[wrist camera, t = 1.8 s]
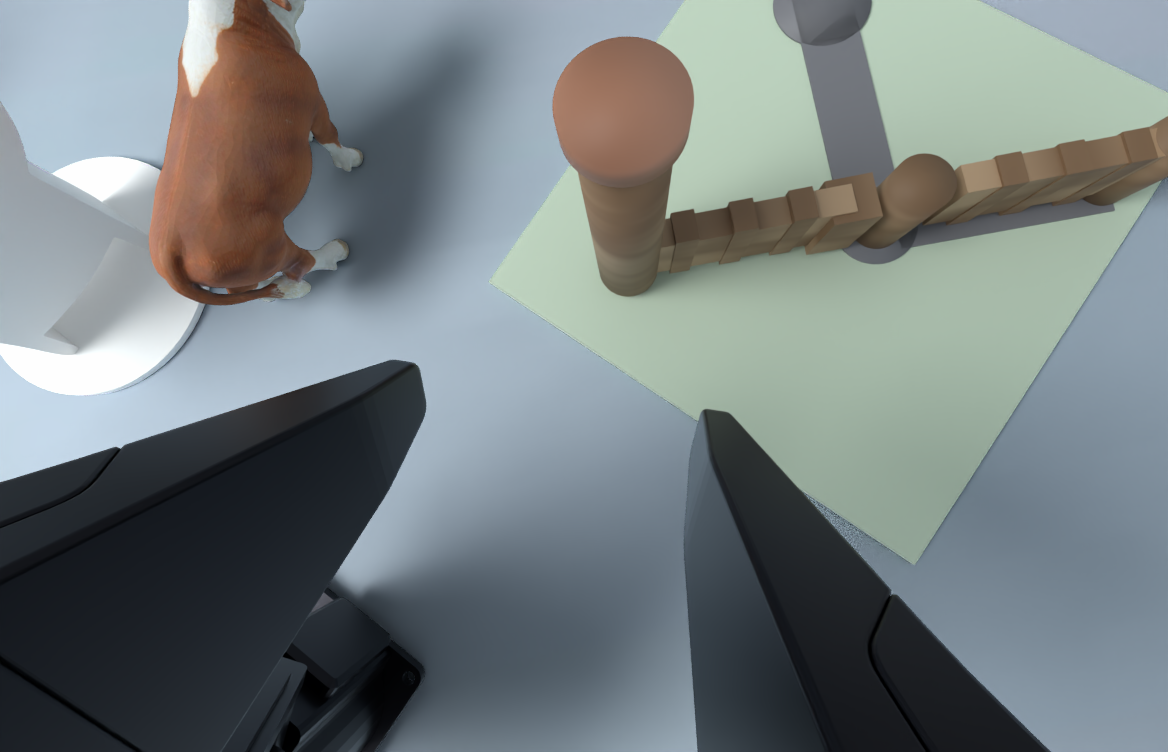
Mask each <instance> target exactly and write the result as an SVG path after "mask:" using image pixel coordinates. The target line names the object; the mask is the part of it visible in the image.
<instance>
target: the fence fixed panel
mask: <svg viewBox="0 0 1168 752" xmlns="http://www.w3.org/2000/svg"><path fill="white" fill-rule="evenodd" d="M1167 177H1168V116H1167V117H1165V118H1164V119H1162V120H1160V121H1159V122H1157V123H1155V124H1154V125H1152V126H1150V127H1145V128H1140V129H1135V130H1129V131H1124V132H1122V133H1120V134H1118V135H1117V136H1112V137H1106V138H1101V139H1096V140H1091V141H1085V139H1082V140H1077V141H1071V142H1066V143H1061V144H1058V145H1057V146H1055V147H1054V148H1049V149H1043V150H1038V151H1033V152H1027V153H1022V152H1021V151H1019V152H1014V153H1008V154H1003V155H998V156H995V157H994V158H993V159H991V160H985V161H980V162H975V163H969V164H964V165H960V166H959V167H958V168H957V169H956V170H954V169H953V168H952V166H951V165H950V164H949V163H948V162H947V161H946V160H944V159H943V158H941V157H939V156H937V155H933V154H927V153H922V154H916V155H913V156H910V157H908V158H907V159H905V160H904V161H903V162H902V163H901V164H900V165H899V166H898V167H897V168H896V169H895V170H894V171H893V172H892V173H891V174H890V175H889V176H888V177H887V178H886V179H885V180H884V181H883V182H882V183H881V184H880V185H879V186H878V187H877V188H876V189H877V193H878V197H879V201H880V206H881V210H882V214H883V217H882V218H881V219H879V220H878V221H877V222H876V223H875V224H874V225H873V226H871V227H870V228H869V229H868V230H867V231H866V232H865V233H863V234H862V235H861V236H860V237H859V238H858V239H857V240H856V241H857V242H858V243H860V244H861V245H863V246H865V247H867V248H871V249H882V248H885V247H888V246H890V245H891V244H893V243H894V242H896V241H897V240H898V239H900V238H901V237H902V236H904V235H905V234H906V233H908V232H909V231H910V230H912V229H913V228H915V227H916V226H917V225H919V224H920V223H921V222H922V224H923V226H924V225H929V224H935V223H940V222H946V226H947V225H952V224H958V223H963V222H968V221H969V220H971V219H972V218H974V217H976V216H978V215H984V214H989V213H995V212H998V214H999V216H1002V215H1007V214H1013V213H1018V212H1022V211H1023V210H1025V209H1027V208H1028V207H1030V206H1033V205H1039V204H1044V203H1050V202H1052V206H1057V205H1062V204H1068V203H1073V202H1076V201H1078V200H1080V199H1082V198H1083V199H1084V200H1085V201H1087V202H1088V203H1090V204H1093V205H1098V206H1106V205H1110V204H1113V203H1115V202H1117V201H1119V200H1121V199H1123V198H1125V197H1128V196H1130V195H1132V194H1134V193H1136V192H1138V191H1140V190H1142V189H1144V188H1146V187H1148V186H1150V185H1152V184H1154V183H1156V182H1159V181H1161V180H1163V179H1165V178H1167Z"/></svg>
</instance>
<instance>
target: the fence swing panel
mask: <svg viewBox="0 0 1168 752" xmlns="http://www.w3.org/2000/svg"><path fill="white" fill-rule="evenodd" d="M693 108H694V91H693V85H692V82H691V78H690V76H689V74H688V71H687V70H686V68H685V67H684V65H683V63H682V62H681V61H680V60H679V59H678V57H677V56H675V55H674V54H673V53H672V52H671V51H670V50H668V49H667V48H665V47H664V46H662V45H660V44H658V43H656V42H653V41H650V40H648V39H643V38H638V37H617V38H611V39H607V40H604V41H601V42H598V43H596V44H593V45H592V46H590V47H588V48H586V49H585V50H583V51H582V52H581V53H579V54H578V55H577V56H576V57H575V58H574V59H573V60H572V61H571V62H570V63H569V64H568V65H567V66H566V68H565V69H564V71H563V72H562V74H561V76H560V78H559V80H558V82H557V85H556V88H555V91H554V96H553V117H554V122H555V126H556V130H557V134H558V138H559V141H560V145H561V148H562V151H563V153H564V155H565V157H566V159H567V160H568V162H569V163H570V164H571V166H572V167H573V168H574V169H575V170H576V171H577V172H578V176H579V181H580V185H581V190H582V195H583V199H584V204H585V208H586V213H587V218H588V222H589V227H590V232H591V236H592V241H593V245H594V250H595V255H596V259H597V264H598V269H599V273H600V277H601V280H602V282H603V284H604V285H605V286H606V287H607V288H608V289H609V290H610V291H611V292H613V293H615V294H617V295H620V296H625V297H630V296H636V295H639V294H641V293H643V292H645V291H646V290H648V289H649V288H650V287H651V285H652V284H653V283H654V281H655V279H656V276H657V273H658V272H663V271H669V273H670V274H671V273H676V272H682V271H687V270H690V267H691V266H696V265H701V264H707V263H712V262H718V261H719V265H720V264H726V263H731V262H737V261H740V259H741V257H745V256H751V255H756V254H762V253H767V252H769V256H770V255H775V254H781V253H786V252H790V251H791V250H792V249H793V248H795V247H800V246H804V247H805V252H806V255H809V254H815V253H821V252H826V251H832V250H837V249H843V248H848V247H849V246H850V245H851V244H852V243H853V242H854V241H855V240H857V239H858V238H859V237H860V236H861V235H862V234H863V233H865V232H866V231H867V230H868V229H869V228H870V227H871V226H873V225H874V224H875V223H876V222H877V221H878V220H879V219H881V218H882V217H883V214H882V210H881V206H880V201H879V197H878V193H877V189H876V185H875V181H874V177H873V172H871V173H866V174H860V175H855V176H850V177H845V178H839V179H834V180H829V181H825V182H824V183H823V184H822V186H821V187H820V188H819V190H815V191H814V190H813V186H810V187H805V188H799V189H794V190H789V191H788V192H787V194H786V195H785V196H784V197H778V198H773V199H768V200H762V201H757V202H754V201H753V197H752V198H747V199H742V200H737V201H731V202H729V203H728V206H727V207H726V208H720V209H715V210H710V211H705V212H699V213H695V212H694V209H689V210H684V211H679V212H674V213H671V214H670V218H668V219H665V217H666V210H667V203H668V196H669V189H670V182H671V175H672V168H673V164H674V163H675V162H676V161H677V159H678V158H679V156H680V155H681V153H682V152H683V150H684V147H685V145H686V143H687V139H688V136H689V131H690V125H691V120H692V114H693Z"/></svg>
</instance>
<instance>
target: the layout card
mask: <svg viewBox="0 0 1168 752" xmlns="http://www.w3.org/2000/svg"><path fill="white" fill-rule="evenodd" d="M656 43H658V44H660V45H662V46H664V47H665V48H667V49H668V50H670V51H671V52H672V53H673V54H674V55H675V56H677V57H678V59H679V60H680V61H681V62H682V63H683V65H684V67H685V68H686V70H687V71H688V74H689V76H690V78H691V82H692V85H693V91H694V108H693V114H692V120H691V125H690V131H689V136H688V139H687V143H686V145H685V147H684V150H683V152H682V153H681V155H680V156H679V158H678V159H677V161H676V162H675V163H674V164H673V168H672V175H671V182H670V189H669V196H668V203H667V210H666V217H665V219H668V218H670V214H671V213H674V212H679V211H684V210H689V209H694V212H695V213H699V212H705V211H710V210H715V209H720V208H726V207H727V206H728V203H729V202H731V201H737V200H742V199H747V198H752V197H753V201H754V202H757V201H762V200H768V199H773V198H778V197H784V196H785V195H786V194H787V192H788V191H789V190H794V189H799V188H805V187H810V186H813V190H814V191H815V190H819V188H820V187H821V186H822V184H823V183H824V182H825V181H829V180H834V179H839V178H845V177H850V176H855V175H860V174H866V173H871V172H873V177H874V181H875V185H876V188H877V187H878V186H879V185H880V184H881V183H882V182H883V181H884V180H885V179H886V178H887V177H888V176H889V175H890V174H891V173H892V172H893V171H894V170H895V169H896V168H897V167H898V166H899V165H900V164H901V163H902V162H903V161H904V160H905V159H907V158H908V157H910V156H913V155H916V154H922V153H927V154H933V155H937V156H939V157H941V158H943V159H944V160H946V161H947V162H948V163H949V164H950V165H951V166H952V168H953V169H954V170H956V169H957V168H958V167H959V166H960V165H964V164H969V163H975V162H980V161H985V160H991V159H993V158H994V157H995V156H998V155H1003V154H1008V153H1014V152H1019V151H1021V152H1022V153H1027V152H1033V151H1038V150H1043V149H1049V148H1054V147H1055V146H1057V145H1058V144H1061V143H1066V142H1071V141H1077V140H1082V139H1085V141H1091V140H1096V139H1101V138H1106V137H1112V136H1117V135H1118V134H1120V133H1122V132H1124V131H1129V130H1135V129H1140V128H1145V127H1150V126H1152V125H1154V124H1155V123H1157V122H1159V121H1160V120H1162V119H1164V118H1165V117H1167V116H1168V92H1166V91H1163V90H1161V89H1159V88H1157V87H1155V86H1153V85H1151V84H1149V83H1147V82H1145V81H1143V80H1141V79H1139V78H1137V77H1135V76H1133V75H1131V74H1129V73H1127V72H1125V71H1122V70H1120V69H1118V68H1116V67H1114V66H1112V65H1110V64H1108V63H1106V62H1104V61H1102V60H1100V59H1098V58H1096V57H1094V56H1092V55H1090V54H1088V53H1086V52H1084V51H1082V50H1079V49H1077V48H1075V47H1073V46H1071V45H1069V44H1067V43H1065V42H1063V41H1061V40H1059V39H1057V38H1055V37H1053V36H1051V35H1049V34H1047V33H1045V32H1043V31H1041V30H1039V29H1036V28H1034V27H1032V26H1030V25H1028V24H1026V23H1024V22H1022V21H1020V20H1018V19H1016V18H1014V17H1012V16H1010V15H1008V14H1006V13H1004V12H1002V11H1000V10H998V9H995V8H993V7H991V6H989V5H987V4H985V3H983V2H981V1H979V0H685V1H684V2H683V4H682V5H681V6H680V8H679V9H678V11H677V12H676V14H675V15H674V16H673V18H672V19H671V21H670V22H669V24H668V25H667V26H666V28H665V29H664V31H663V32H662V34H661V35H660V37H659V38H658V39H657V41H656ZM1161 181H1162V180H1161ZM1161 181H1159V182H1156V183H1154V184H1152V185H1150V186H1148V187H1146V188H1144V189H1142V190H1140V191H1138V192H1136V193H1134V194H1132V195H1130V196H1128V197H1125V198H1123V199H1121V200H1119V201H1117V202H1115V203H1113V204H1110V205H1106V206H1098V205H1093V204H1090V203H1088V202H1087V201H1085V200H1084V199H1083V198H1082V199H1080V200H1078V201H1076V202H1073V203H1068V204H1062V205H1057V206H1052V202H1050V203H1044V204H1039V205H1033V206H1030V207H1028V208H1027V209H1025V210H1023V211H1022V212H1018V213H1013V214H1007V215H1002V216H999V214H998V212H995V213H989V214H984V215H978V216H976V217H974V218H972V219H971V220H969V221H968V222H963V223H958V224H952V225H947V226H946V222H940V223H935V224H929V225H924V226H923V224H922V222H921V223H920V224H919V225H917V226H916V227H915V228H913V229H912V230H910V231H909V232H908V233H906V234H905V235H904V236H902V237H901V238H900V239H898V240H897V241H896V242H894V243H893V244H891V245H890V246H888V247H885V248H882V249H871V248H867V247H865V246H863V245H861V244H860V243H858V242H857V241H856V240H855V241H854V242H853V243H852V244H851V245H850V246H849V247H848V248H843V249H837V250H832V251H826V252H821V253H815V254H809V255H806V252H805V247H804V246H800V247H795V248H793V249H792V250H791V251H790V252H786V253H781V254H775V255H770V256H769V252H767V253H762V254H756V255H751V256H745V257H741V259H740V261H737V262H731V263H726V264H720V265H719V261H718V262H712V263H707V264H701V265H696V266H691V267H690V270H687V271H682V272H676V273H671V274H670V273H669V271H663V272H658V273H657V276H656V279H655V281H654V283H653V284H652V285H651V287H650V288H649V289H648V290H646V291H645V292H643V293H641V294H639V295H636V296H630V297H625V296H620V295H617V294H615V293H613V292H611V291H610V290H609V289H608V288H607V287H606V286H605V285H604V284H603V282H602V280H601V277H600V273H599V269H598V264H597V259H596V255H595V250H594V245H593V241H592V236H591V232H590V227H589V222H588V218H587V213H586V208H585V204H584V199H583V195H582V190H581V185H580V181H579V176H578V172H577V171H576V170H575V169H574V168H573V167H572V166H571V164H570V166H569V167H568V168H567V170H566V171H565V173H564V174H563V176H562V177H561V179H560V180H559V181H558V183H557V184H556V186H555V187H554V189H553V190H552V191H551V193H550V194H549V196H548V197H547V199H546V200H545V201H544V203H543V204H542V206H541V207H540V209H539V210H538V212H537V213H536V214H535V216H534V217H533V219H532V220H531V222H530V223H529V224H528V226H527V227H526V229H525V230H524V232H523V233H522V234H521V236H520V237H519V239H518V240H517V242H516V243H515V244H514V246H513V247H512V249H511V250H510V252H509V253H508V255H507V256H506V257H505V259H504V260H503V262H502V263H501V265H500V266H499V267H498V269H497V270H496V272H495V273H494V275H493V276H492V277H491V279H490V280H489V283H490V284H491V285H493V286H494V287H496V288H497V289H499V290H500V291H502V292H503V293H505V294H506V295H508V296H509V297H511V298H512V299H514V300H515V301H517V302H518V303H520V304H521V305H523V306H524V307H526V308H528V309H529V310H531V311H532V312H534V313H535V314H537V315H538V316H540V317H541V318H543V319H544V320H546V321H547V322H549V323H550V324H552V325H553V326H555V327H556V328H558V329H559V330H561V331H562V332H564V333H565V334H567V335H568V336H570V337H571V338H573V339H574V340H576V341H577V342H579V343H580V344H582V345H583V346H585V347H586V348H588V349H589V350H591V351H592V352H594V353H595V354H597V355H598V356H600V357H601V358H603V359H604V360H606V361H607V362H609V363H610V364H612V365H613V366H615V367H616V368H618V369H619V370H621V371H622V372H624V373H625V374H627V375H628V376H630V377H631V378H633V379H634V380H636V381H637V382H639V383H640V384H642V385H643V386H645V387H646V388H648V389H649V390H651V391H652V392H654V393H655V394H657V395H658V396H660V397H661V398H663V399H664V400H666V401H667V402H669V403H670V404H672V405H673V406H675V407H676V408H678V409H679V410H681V411H682V412H684V413H685V414H687V415H688V416H690V417H691V418H693V419H694V420H696V421H697V422H698V420H699V416H700V413H701V412H702V410H704V409H712V410H718V411H724V412H729V413H730V414H731V415H732V416H733V417H734V418H735V419H736V420H737V421H738V422H739V423H740V424H741V425H742V427H743V428H744V429H745V430H746V431H747V432H748V433H749V434H750V435H751V436H752V438H753V439H754V440H755V441H756V442H757V443H758V444H759V445H760V446H761V447H762V448H763V450H764V451H765V452H766V453H767V454H768V455H769V456H770V457H771V458H772V459H773V461H774V462H775V463H776V464H777V465H778V466H779V467H780V468H781V469H782V470H783V472H784V473H785V474H786V475H787V476H788V477H789V478H790V479H791V480H792V481H793V483H794V484H795V485H796V486H797V487H798V488H799V489H800V490H801V491H803V492H804V493H806V494H807V495H809V496H810V497H812V498H813V499H815V500H816V501H818V502H819V503H821V504H822V505H824V506H825V507H827V508H828V509H830V510H831V511H833V512H834V513H836V514H837V515H839V516H840V517H842V518H843V519H845V520H846V521H848V522H849V523H851V524H852V525H854V526H855V527H857V528H858V529H860V530H861V531H863V532H864V533H866V534H867V535H869V536H870V537H872V538H873V539H875V540H876V541H878V542H879V543H881V544H882V545H884V546H885V547H887V548H888V549H890V550H891V551H893V552H894V553H896V554H897V555H899V556H900V557H902V558H903V559H905V560H906V561H908V562H909V563H911V564H913V565H915V564H916V562H917V561H918V559H919V558H920V556H921V555H922V553H923V552H924V550H925V548H926V547H927V545H928V544H929V542H930V541H931V539H932V538H933V536H934V534H935V533H936V531H937V530H938V528H939V527H940V525H941V524H942V522H943V520H944V519H945V517H946V516H947V514H948V513H949V511H950V510H951V508H952V506H953V505H954V503H955V502H956V500H957V499H958V497H959V496H960V494H961V492H962V491H963V489H964V488H965V486H966V485H967V483H968V482H969V480H970V478H971V477H972V475H973V474H974V472H975V471H976V469H977V468H978V466H979V464H980V463H981V461H982V460H983V458H984V457H985V455H986V454H987V452H988V450H989V449H990V447H991V446H992V444H993V443H994V441H995V440H996V438H997V436H998V435H999V433H1000V432H1001V430H1002V429H1003V427H1004V426H1005V424H1006V422H1007V421H1008V419H1009V418H1010V416H1011V415H1012V413H1013V412H1014V410H1015V408H1016V407H1017V405H1018V404H1019V402H1020V401H1021V399H1022V398H1023V396H1024V394H1025V393H1026V391H1027V390H1028V388H1029V387H1030V385H1031V384H1032V382H1033V380H1034V379H1035V377H1036V376H1037V374H1038V373H1039V371H1040V370H1041V368H1042V366H1043V365H1044V363H1045V362H1046V360H1047V359H1048V357H1049V356H1050V354H1051V352H1052V351H1053V349H1054V348H1055V346H1056V345H1057V343H1058V342H1059V340H1060V338H1061V337H1062V335H1063V334H1064V332H1065V331H1066V329H1067V328H1068V326H1069V324H1070V323H1071V321H1072V320H1073V318H1074V317H1075V315H1076V314H1077V312H1078V310H1079V309H1080V307H1081V306H1082V304H1083V303H1084V301H1085V300H1086V298H1087V296H1088V295H1089V293H1090V292H1091V290H1092V289H1093V287H1094V286H1095V284H1096V282H1097V281H1098V279H1099V278H1100V276H1101V275H1102V273H1103V271H1104V270H1105V268H1106V267H1107V265H1108V264H1109V262H1110V261H1111V259H1112V257H1113V256H1114V254H1115V253H1116V251H1117V250H1118V248H1119V247H1120V245H1121V243H1122V242H1123V240H1124V239H1125V237H1126V236H1127V234H1128V233H1129V231H1130V229H1131V228H1132V226H1133V225H1134V223H1135V222H1136V220H1137V219H1138V217H1139V215H1140V214H1141V212H1142V211H1143V209H1144V208H1145V206H1146V205H1147V203H1148V201H1149V200H1150V198H1151V197H1152V195H1153V194H1154V192H1155V191H1156V189H1157V187H1158V186H1159V184H1160V183H1161Z"/></svg>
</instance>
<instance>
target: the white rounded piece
mask: <svg viewBox="0 0 1168 752" xmlns="http://www.w3.org/2000/svg"><path fill="white" fill-rule="evenodd" d="M160 173H161V170H159V169H157V168H155V167H153V166H151V165H149V164H147V163H144V162H141V161H138V160H134V159H129V158H122V157H99V158H92V159H87V160H83V161H80V162H76V163H73V164H71V165H68V166H66V167H63V168H61V169H59V170H58V171H56V172H54V173H50V172H48V171H46V170H44V169H42V168H40V167H39V166H37V165H35V164H33V163H31V162H29V161H28V160H27V159H26V155H25V151H24V147H23V144H22V141H21V139H20V136H19V134H18V131H17V129H16V127H15V125H14V123H13V121H12V119H11V117H10V116H9V114H8V112H7V111H6V109H5V108H4V106H3V105H2V103H1V102H0V354H1V355H2V357H3V358H4V360H5V361H6V362H7V363H8V364H9V365H10V366H11V368H12V369H13V370H15V371H16V372H17V373H18V374H19V375H20V376H22V377H23V378H24V379H26V380H27V381H29V382H31V383H33V384H34V385H36V386H38V387H41V388H43V389H46V390H49V391H52V392H56V393H61V394H67V395H81V396H91V395H101V394H108V393H112V392H116V391H119V390H122V389H125V388H127V387H130V386H132V385H134V384H136V383H138V382H140V381H142V380H144V379H145V378H147V377H149V376H150V375H152V374H153V373H155V372H156V371H157V370H159V369H160V368H161V367H162V366H164V365H165V364H166V363H167V362H168V361H169V360H170V359H171V358H172V357H173V356H174V355H175V354H176V353H177V352H178V350H179V349H180V348H181V347H182V346H183V344H184V343H185V342H186V340H187V339H188V338H189V336H190V334H191V333H192V331H193V330H194V328H195V326H196V324H197V322H198V320H199V318H200V316H201V314H202V311H203V309H204V306H205V304H202V303H199V302H196V301H194V300H191V299H189V298H186V297H184V296H182V295H181V294H179V293H177V292H176V291H175V290H174V289H172V288H171V287H170V285H169V284H168V283H167V281H166V280H165V279H164V278H163V277H161V276H160V275H159V274H158V272H157V271H156V269H155V267H154V265H153V263H152V259H151V255H150V250H149V231H150V225H151V219H152V212H153V204H154V196H155V189H156V185H157V181H158V178H159V175H160ZM202 288H203V289H206V290H209V289H210V287H202Z"/></svg>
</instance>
